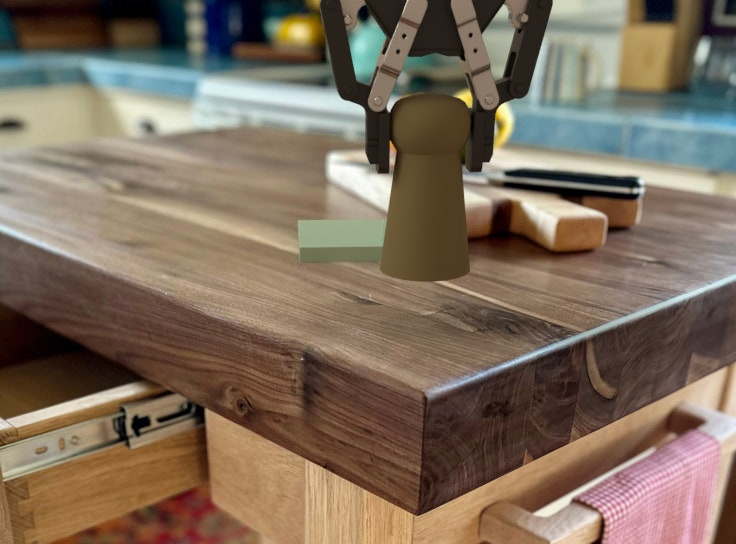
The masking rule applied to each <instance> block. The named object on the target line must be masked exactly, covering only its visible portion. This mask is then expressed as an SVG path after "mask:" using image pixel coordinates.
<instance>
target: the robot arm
mask: <svg viewBox="0 0 736 544" xmlns="http://www.w3.org/2000/svg"><path fill="white" fill-rule="evenodd" d="M553 5H554V0H319V1H318V9H319V13H320V18H321V23H322V26H323V33H324V37H325V42H326V45H327V46H326V47H327V51H328V56H329V60H330V61H329V62H330V65H331V70H332V75H333V78H334V79H333V80H334V84H335V89H336V91H337V94H338V96H339V98H341V100H343V101H346V102H349V103H353V104H355V105H356V104H357V105H359V106H360V107H362V108H363V109H364V115H365V117H364V121H365V122H364V153H365V156H366V158H367V161H368V163H369V165H374V166H375V172H376V173H377V175H388V174H390V168H391V167H390V165H391V164H390V161H391V159H390V158H391V141H390V111H389V110H388V104H389V101H390V99H391V96H392V94H393V91H394V88H395V86H396V83H397V81H398V78H399V77H400V75H401V73H402V71H403V69H404V66H405V63H406V60H407V58H408V57H409V58H423V57H426V56H429V55H433V54H437V55H441V56H445V57H456V58H457V59H458V62H459V65H460V69H461V70H462V73H463V74H464V78H465V80H466V83H467V87H468V90H469V93H470V96H471V99H472V101H471V102H472V103H471V107H468V108H469V111H470V115H471V132H470V135H469V139H468V141H467V143H466V144H465V158H464V165H465V169H466V170H467V171H468V172H469V173H482V172H483V166H484V165H483V163H485V164H487V163H488V164H489V163H490V162H491V160H492V158H493V155H494V144H495V131H496V130H495V128H496V116H497V115H496V114H497V111H498V109H499V108H500V106H502V105H503V104H505V103H507V102H510V101H513V100H515V99H517V100H521V99H523V98H525V97H527V95H528V93H529V91H530V87H531V84H532V81H533V77H534V73H535V70H536V66H537V63H538V59H539V55H540V51H541V49H542V46H543V41H544V38H545V34H546V31H547V26H548V23H549V20H550V16H551V14H552V13H551V12H552V9H553ZM503 6H505V7H506V9H507V12H508V15H507V21H508V24H509V25H510V27H512V28H514V33H513V36H512V39H511V45H510V46H509V47H510V48H509V52H508V54H507V58H506V63H505V67H504V70H503V74H502V78H499V79H497V80H496V79H494V78H495V77H494V75H493V73H492V68H491V66H492V65H491V60H490V57H489V54H488V51H487V48H486V45H485V42H484V38H483V35H484V32H485V31H486V30H487V29H488V27H489V25H490V24H491V23H492V21H493V20H494V18H495V17H496V15H497V14H498V13H499V11H500V10H501V9H502V7H503ZM362 7H366V8H367V11H369V14H370V15H371V16H372V18H373V19H374V21H375V22H376V23H377V25H378V27H379V28H380V30H381V31H382V33H383V34H384V36H385V38H384V41H383V44H382V46H381V49H380V51H379V54H378V57H377V59H376V63H375V67H374V70H373V73H372V75H371V78H370V81H369V82H368V83H366V82H363V81H360V80H358V79H357V75H356V71H355V65H354V61H353V56H352V51H351V47H350V41H349V36H348V32H350V31H353V30H354V29H355V28H356V26H357V24H358V15H359V11H360V9H362Z"/></svg>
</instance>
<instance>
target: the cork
mask: <svg viewBox="0 0 736 544" xmlns="http://www.w3.org/2000/svg"><path fill="white" fill-rule="evenodd" d="M469 108H470V107H468V105H467V103H466V101H464V100H463V99H462V98H460V97H457V96H453V95H449V94H444V93H437V92H436V93H435V92H434V93H432V92H430V93H429V92H428V93H427V92H426V93H417V94H411V95H408V96H404V97H401V98H399V99H398V100H396V101H395V102H394V103H393V105H392V107H391V108H390V111H389V112H390V144H392V146H393V147H394V149H395V150H396V151H395V159H394V165H393V172H392V179H391V186H390V194H389V201H388V209H387V215H386V218H387V221H386V229H385V236H384V243H383V250H382V257H381V261H380V265H379V271H381V272H382V274H384V275H386V276H388V277H390V278H392V279H393V278H394V279H396V280H397V279H398V280H401V281H410V282H418V283H419V282H423V283H426V282H427V283H433V282H447V281H450V280H455V279H459V278H463V277H464V276H467V275H468V274H469V273H470V272H471V264H470V252H469V240H468V239H469V238H468V227H467V214H466V201H465V200H466V199H465V188H464V175H463V174H464V173H463V162H462V150H463V148H464V147H465V146H466V143H467V141H468V139H469V135H470V132H471V115H470V111H469Z"/></svg>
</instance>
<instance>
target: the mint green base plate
mask: <svg viewBox="0 0 736 544" xmlns="http://www.w3.org/2000/svg"><path fill="white" fill-rule="evenodd" d="M386 221H387V217H386V218H375V219H373V218H372V219H371V218H370V219H369V218H368V219H367V218H365V219H364V218H362V219H298V220H297V240H298V242H297V243H298V259H299V260H298V261H299V263H346V262H347V263H349V262H350V263H351V262H354V263H356V262H381V257H382V250H383V243H384V236H385V229H386Z"/></svg>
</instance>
